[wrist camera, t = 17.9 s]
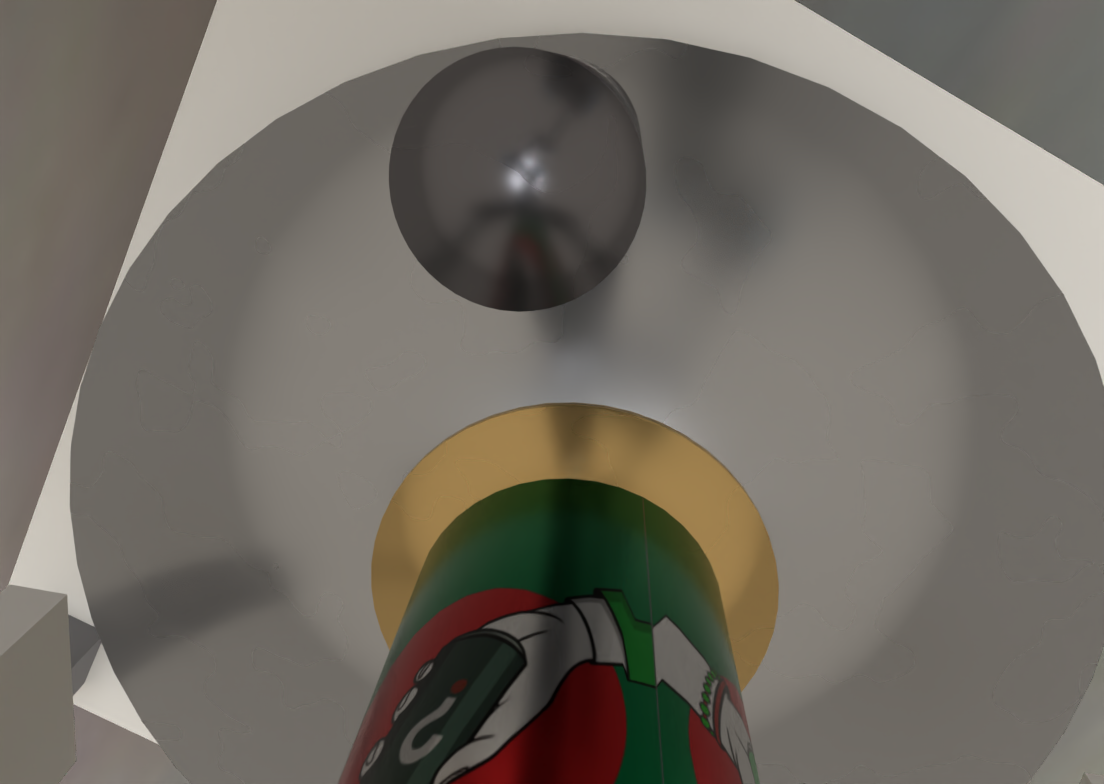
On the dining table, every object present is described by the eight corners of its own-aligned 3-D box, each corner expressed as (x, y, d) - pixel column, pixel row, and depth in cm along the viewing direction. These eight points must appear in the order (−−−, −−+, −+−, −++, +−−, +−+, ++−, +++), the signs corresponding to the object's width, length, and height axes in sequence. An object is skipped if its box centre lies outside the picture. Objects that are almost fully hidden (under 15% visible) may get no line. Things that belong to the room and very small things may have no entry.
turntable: (-47, 272, 17) (-494, 404, 10) (927, -164, 13) (1232, -408, 6) (370, 951, 22) (256, 1331, 15) (1150, 774, 18) (1446, 1175, 12)
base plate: (339, -262, 14) (235, -380, 11) (1327, 328, 16) (1537, 407, 12) (10, 634, 21) (-125, 756, 17) (733, 979, 23) (754, 1157, 19)
